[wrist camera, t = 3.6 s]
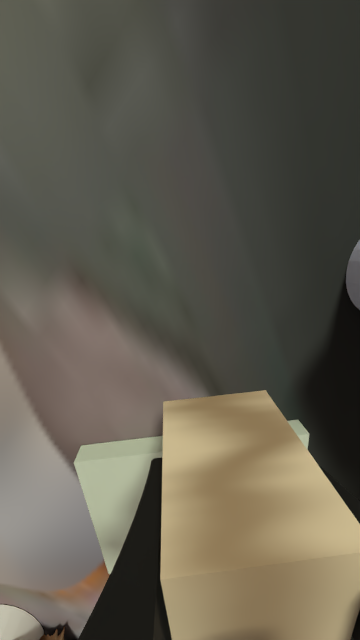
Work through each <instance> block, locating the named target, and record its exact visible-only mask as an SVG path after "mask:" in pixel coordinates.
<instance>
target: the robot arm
mask: <svg viewBox="0 0 360 640" xmlns="http://www.w3.org/2000/svg"><path fill="white" fill-rule="evenodd" d="M346 286H347V292H348V294H349V297H350V299H351V301H352V302H353V304H354V305H355V306H356V307H357V308H358V309H359V310H360V240H359V242H358V243H357V245H356V246H355V248H354V250H353V252H352V254H351V257H350V259H349V262H348V267H347V271H346ZM316 463H317V462H316ZM317 464H318V463H317ZM318 466H319V467H320V468H321V470H322V471H323V473H324V474H325V475H326V477H327V478H328V480H329V481H330V483H331V484H332V485H333V487H334V488H335V490H336V491H337V492H338V494H339V495H340V497H341V498H342V500H343V501H344V502H345V504H346V505H347V507H348V508H349V510H350V511H351V512H352V514H353V515H354V517H355V518H356V519H357V521H358V522H359V524H360V501H359V500H358V499H357V498H356V497H355V496H353V495H352V494H351V493H350V492H349V491H348V490H347V489H345V488H344V487H343V486H342V485H341V484H340V483H339V482H337V481H336V480H335V479H334V478H333V477H332V476H331V475H330V474H329V473H327V472H326V471H325V470H324V469H323V468H322V467H321V466H320V465H319V464H318ZM161 515H162V457H161V458H154V459H153V460H152V461H151V465H150V469H149V473H148V477H147V480H146V484H145V487H144V490H143V493H142V496H141V499H140V502H139V505H138V508H137V511H136V514H135V516H134V519H133V522H132V524H131V527H130V529H129V532H128V534H127V537H126V539H125V542H124V544H123V547H122V549H121V551H120V554H119V556H118V558H117V561H116V563H115V565H114V567H113V570H112V572H111V574H110V576H109V578H108V580H107V582H106V585H105V587H104V589H103V591H102V593H101V595H100V597H99V599H98V601H97V603H96V605H95V607H94V609H93V611H92V613H91V615H90V617H89V619H88V621H87V623H86V625H85V627H84V629H83V631H82V633H81V635H80V637H79V639H78V640H171V632H170V626H169V621H168V616H167V611H166V606H165V601H164V596H163V591H162V585H161V580H160V572H161ZM352 636H353V638H354V640H360V610H359V613H358V616H357V619H356V623H355V626H354V629H353V632H352Z"/></svg>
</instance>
